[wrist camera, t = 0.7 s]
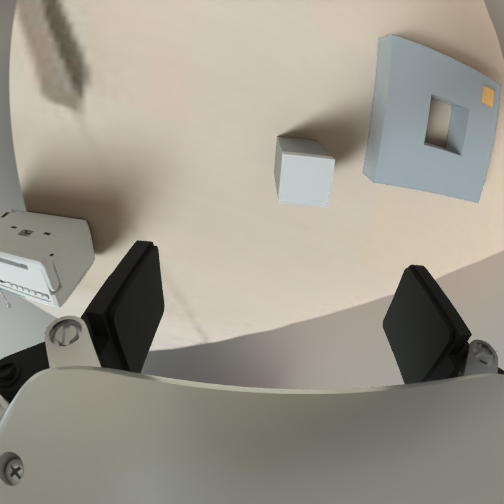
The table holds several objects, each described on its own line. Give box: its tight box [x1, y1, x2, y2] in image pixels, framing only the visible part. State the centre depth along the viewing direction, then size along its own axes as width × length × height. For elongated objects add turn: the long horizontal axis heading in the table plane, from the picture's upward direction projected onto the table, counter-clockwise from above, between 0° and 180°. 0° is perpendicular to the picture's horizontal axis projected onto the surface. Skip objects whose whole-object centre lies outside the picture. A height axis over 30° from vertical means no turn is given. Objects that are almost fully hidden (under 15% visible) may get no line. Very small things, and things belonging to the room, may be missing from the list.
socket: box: [363, 34, 501, 203], centre depth 27 cm, size 18×18×5 cm
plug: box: [274, 136, 335, 207], centre depth 29 cm, size 5×5×10 cm
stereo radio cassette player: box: [0, 210, 95, 308], centre depth 31 cm, size 21×8×20 cm, turn 81°
